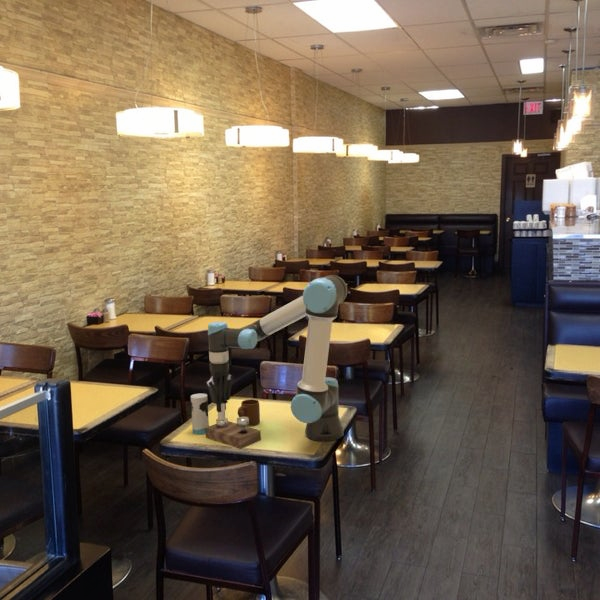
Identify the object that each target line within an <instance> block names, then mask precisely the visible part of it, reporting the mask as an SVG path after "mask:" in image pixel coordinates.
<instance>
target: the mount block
mask: <svg viewBox="0 0 600 600" xmlns="http://www.w3.org/2000/svg"><path fill="white" fill-rule="evenodd" d="M261 432H262V431H261V429H257V428H254V427H251V426H246V433H245V434H241V429H240V427H239V426H237V422H236V423H235V422H233V421H229V420H228V426H227V427H223V428H219V427H217V426H216V423H214V424H212V425H209V427H206V428H205V438H206V439H210V440H213V441H214V442H215V441H216V442H219V443H221V444H226V445H228V446H231V447H234V448H238V449H240V450H242V449H243V448H245V447H248V446H250V445H253V444H255V443H257V442H261V441H262V433H261Z"/></svg>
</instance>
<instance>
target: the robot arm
mask: <svg viewBox="0 0 600 600" xmlns="http://www.w3.org/2000/svg"><path fill="white" fill-rule="evenodd" d="M347 295H348V286H347V284H346V282H345V280H344V279H343V278H342V277H340V276H338V275H336V274H328V275H325V276H323V277H318V278H314V279H313V280H312V281H310V282H309V283H308V284H306V286H305V288H304V289H303V293H302V295H300V296H299V297H298V298H296V299H294V300H292V301H291V302H289V303H287V304H285V305H283V306H281V307H280V308H278V309H275V310H274V311H272V312H270V313H267V315H265V316H263V317H261V318H259V319H257V320H256V321H254V322H252V323H250V324H248V325H245V326H242V327H240V328H235V327H234V328H232V327H228V324H227V322H226V321H213V322H210V323H208V326H207V337H208V355H209V371H210V376H209V377H210V379H209V380H206V382H205V384H206V386H207V388H208V392H209V396H210V399H211V403H212V404H215V405H216V406H215V407H216V412H217V419H220V420H225V418H226V410H227V404H228V402H229V401H230V400H231V392H232V385H233V381H234V375H232V374H230V373H229V370H230V363H229V348H230V349H231V348H233V349H242V350H249V349H250V350H251V349H252V350H253V349H254V348H256V345H257V344H258V342H260V341H262V340H264V339H265V338H267V337H269V336H271V335H272V334H275V332H276V333H277V332H278V331H280V330H282V329H284V328H285V327H287V326H289V325H291V324H293V323H295V322H297V321H299V320H301V319H303V318H305V317H306V316H307V317H308V322H307V323H308V324H307V333H306V341H305V349H304V350H305V351H304V359H303V367H302V376H301V380H299V381H298V382H297V384H296V392H295V396H293V398H292V400H291V402H290V411H291V413H292V415H293V416H294V417H295V419H296V420H297V421H299V422H301V423H304V424H306V426H305V430H304V434H305V437H306V438H307V439H309V440H312V441H318V442H331V441H335V440H338V439H341V438H342V437H344V427H343V425H342V422H341V419H340V416H339V414H340V412H339V384H338V383H339V382H338V379H336V378H334V377H330V376H329V377H328V376H326V374H327V367H328V359H329V352H330V350H329V349H330V342H331V334H332V325H333V321H334V320H335V319H336V318H337V317H338V311H339V305H340V304H341V303H343V302H344V301H345V299H346V297H347Z"/></svg>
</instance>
